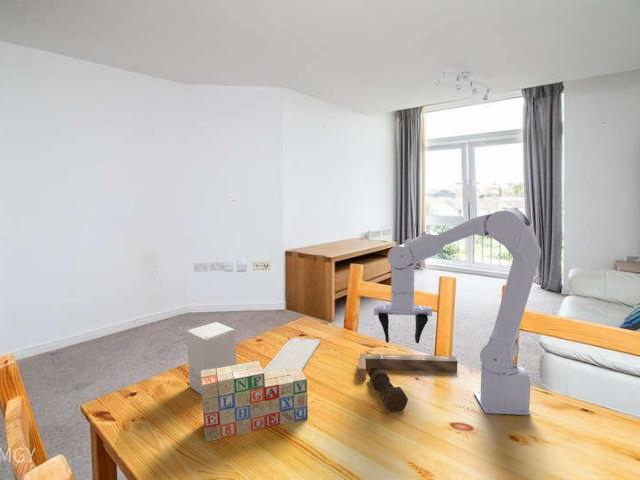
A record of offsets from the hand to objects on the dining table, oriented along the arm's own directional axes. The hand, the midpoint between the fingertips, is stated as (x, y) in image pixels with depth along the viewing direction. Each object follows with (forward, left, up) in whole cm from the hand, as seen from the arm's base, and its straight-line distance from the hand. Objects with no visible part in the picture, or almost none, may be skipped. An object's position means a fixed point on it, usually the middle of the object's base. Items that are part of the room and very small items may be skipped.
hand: (402, 341), depth 96 cm
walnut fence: (-2, -1, -9) cm, 10 cm away
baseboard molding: (+32, -6, -10) cm, 34 cm away
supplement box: (+48, +9, -10) cm, 50 cm away
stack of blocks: (+33, +22, -10) cm, 41 cm away
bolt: (+5, +9, -10) cm, 15 cm away
